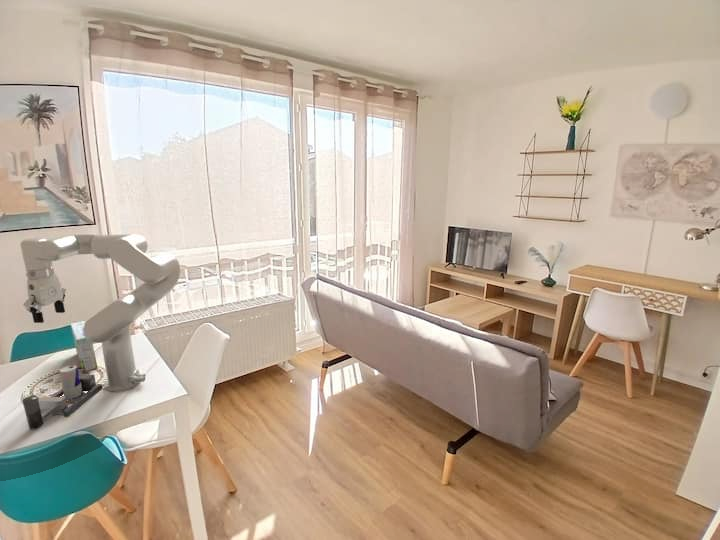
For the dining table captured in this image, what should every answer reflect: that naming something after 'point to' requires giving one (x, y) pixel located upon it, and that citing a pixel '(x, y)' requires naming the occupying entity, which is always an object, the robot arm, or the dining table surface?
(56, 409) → the ram
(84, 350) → the snack box
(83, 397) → the press
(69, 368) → the energy drink
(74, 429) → the dining table surface
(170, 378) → the dining table surface
